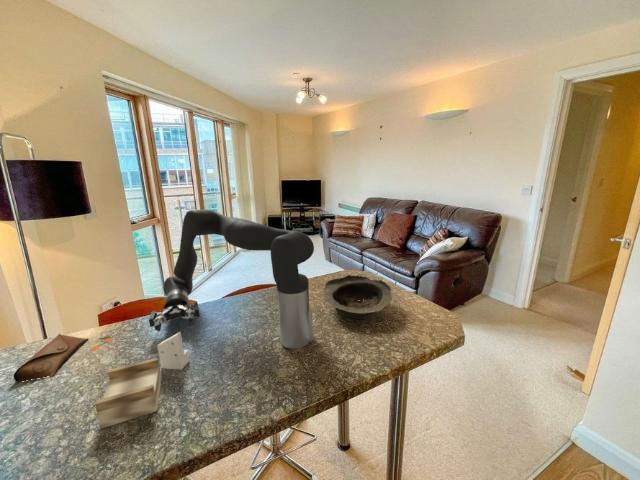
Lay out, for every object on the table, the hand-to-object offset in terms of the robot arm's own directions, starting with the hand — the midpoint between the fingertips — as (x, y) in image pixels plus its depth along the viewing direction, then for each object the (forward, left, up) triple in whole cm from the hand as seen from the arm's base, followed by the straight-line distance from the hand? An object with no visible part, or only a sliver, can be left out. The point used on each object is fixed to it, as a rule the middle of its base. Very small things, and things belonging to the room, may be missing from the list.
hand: (174, 325), depth 84 cm
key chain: (+22, -11, -7) cm, 26 cm away
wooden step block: (+8, +21, -6) cm, 23 cm away
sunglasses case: (+31, -7, -7) cm, 33 cm away
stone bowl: (-60, +7, -6) cm, 61 cm away
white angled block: (0, +11, -6) cm, 13 cm away
